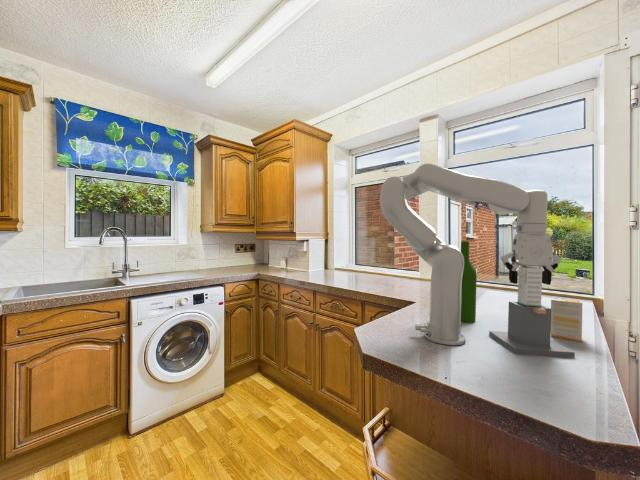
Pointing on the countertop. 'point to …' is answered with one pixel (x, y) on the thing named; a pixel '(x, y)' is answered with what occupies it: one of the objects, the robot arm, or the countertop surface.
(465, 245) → the wine bottle
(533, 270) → the column
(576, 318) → the supplement box
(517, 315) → the stand
